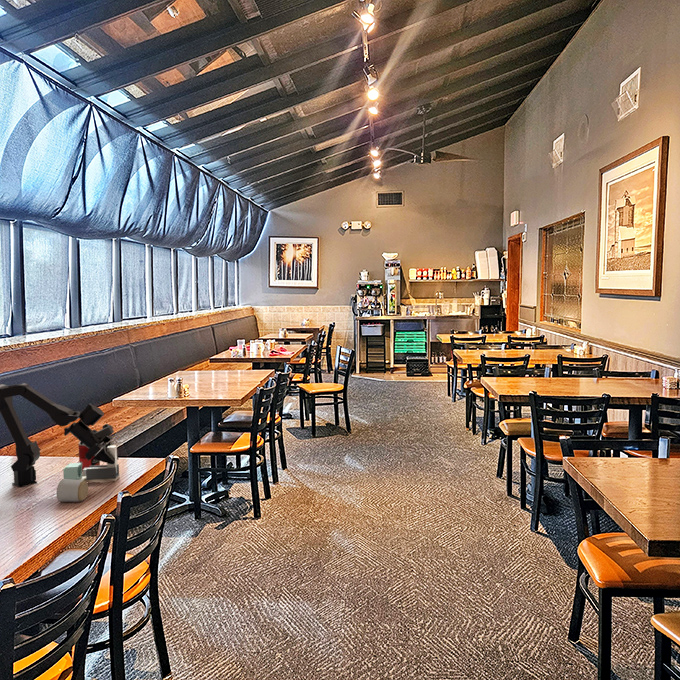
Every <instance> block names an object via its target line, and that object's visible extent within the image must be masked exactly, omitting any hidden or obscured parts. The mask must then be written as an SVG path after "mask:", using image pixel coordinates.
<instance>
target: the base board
mask: <svg viewBox="0 0 680 680" xmlns="http://www.w3.org/2000/svg"><path fill="white" fill-rule="evenodd" d="M119 476H120V474H119ZM119 476H118V477H117V478H116V479H99V480H86V476H83V475H82V477H81V478H80V479H79V480H83V481H85V482H100V483H108V482H107V481H116V480H117V479H118V480H119V478H120V477H119ZM118 480H117V481H118ZM117 481H116V482H117Z"/></svg>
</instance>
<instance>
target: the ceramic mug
mask: <svg viewBox="0 0 680 680" xmlns="http://www.w3.org/2000/svg"><path fill="white" fill-rule="evenodd" d="M88 493H89V483H87V482H85V481H83V480H73V479H64V478H62V479H60V481H59V482H58V484H57V487H56V499H57V501H59V502H63V503H65V502H66V503H69V502H75V503H77V502H83V501H84V500H85V499H87V498H86V497H87V495H88Z"/></svg>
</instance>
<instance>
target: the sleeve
mask: <svg viewBox="0 0 680 680" xmlns="http://www.w3.org/2000/svg"><path fill="white" fill-rule="evenodd" d="M89 467H107V464H100V465H95V466H89ZM117 470H118V473H117V474H116V467H114V468H94V469H86V480H99V479H116V478H117V477H118V476H119V475H120V464H118V463H117Z"/></svg>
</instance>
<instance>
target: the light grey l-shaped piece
mask: <svg viewBox="0 0 680 680" xmlns="http://www.w3.org/2000/svg"><path fill="white" fill-rule="evenodd" d="M107 453H108V455H109V456H110V457H111V458H112V459H113V460H114V462H115V463H114V464H109V463H106V465H107V467H89V468H84V469H83V470H82V476H86V469H94V468H114V467H116V474H117V473H118V470H117V464H118V460H117V456H118V445H111V446H108V447H107Z"/></svg>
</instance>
